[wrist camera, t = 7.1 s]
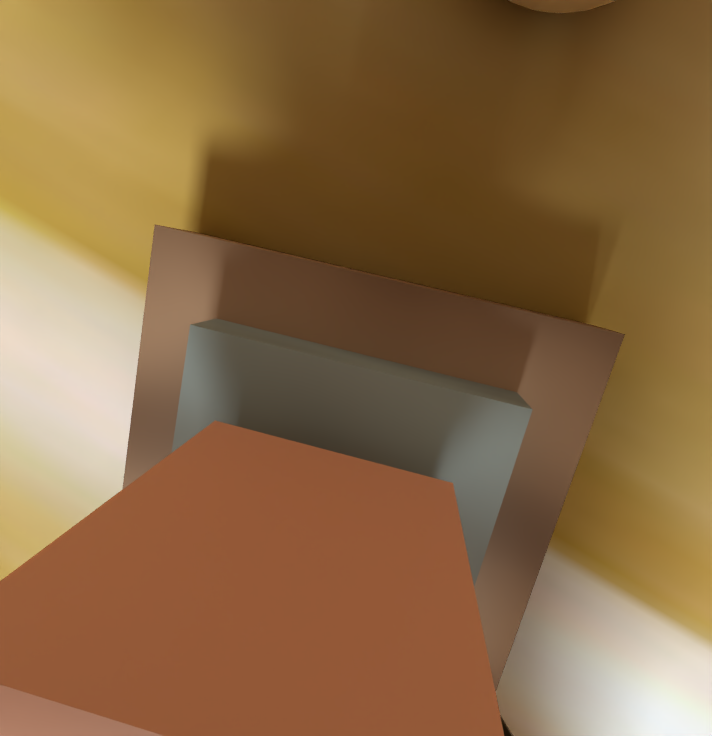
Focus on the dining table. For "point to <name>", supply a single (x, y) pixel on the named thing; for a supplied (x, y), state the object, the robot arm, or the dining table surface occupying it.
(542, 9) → the plastic bottle
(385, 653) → the terracotta brick
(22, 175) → the dining table surface
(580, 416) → the plinth
